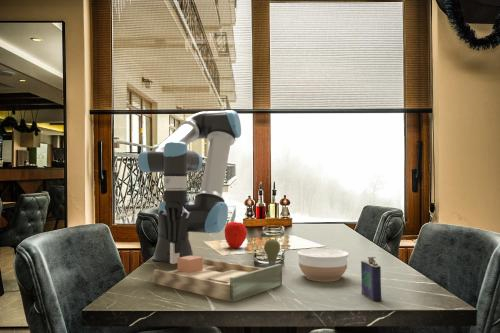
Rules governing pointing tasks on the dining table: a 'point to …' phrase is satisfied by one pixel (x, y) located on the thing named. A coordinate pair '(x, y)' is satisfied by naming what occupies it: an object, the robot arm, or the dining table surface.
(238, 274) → the box
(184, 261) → the block
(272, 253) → the light bulb
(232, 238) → the apple
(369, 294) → the flask
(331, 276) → the bowl
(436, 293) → the dining table surface
